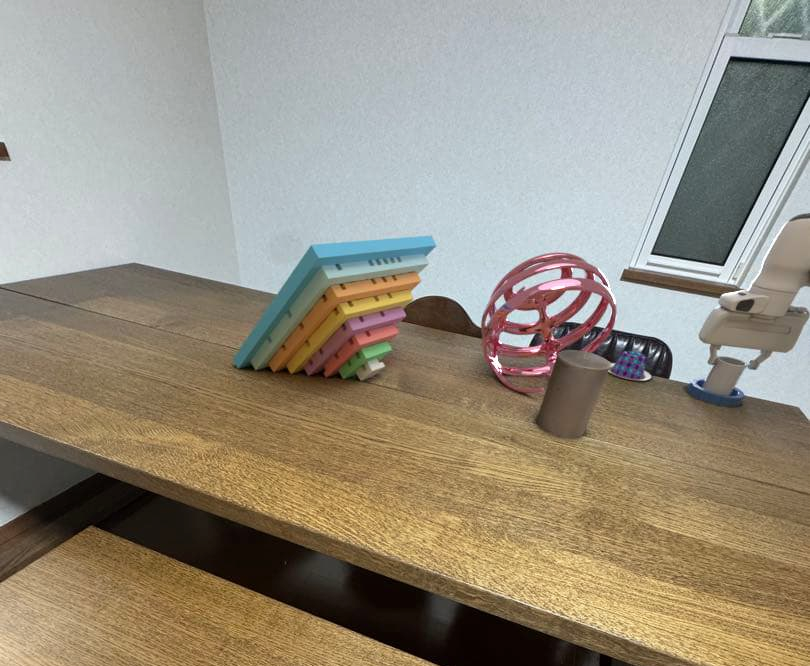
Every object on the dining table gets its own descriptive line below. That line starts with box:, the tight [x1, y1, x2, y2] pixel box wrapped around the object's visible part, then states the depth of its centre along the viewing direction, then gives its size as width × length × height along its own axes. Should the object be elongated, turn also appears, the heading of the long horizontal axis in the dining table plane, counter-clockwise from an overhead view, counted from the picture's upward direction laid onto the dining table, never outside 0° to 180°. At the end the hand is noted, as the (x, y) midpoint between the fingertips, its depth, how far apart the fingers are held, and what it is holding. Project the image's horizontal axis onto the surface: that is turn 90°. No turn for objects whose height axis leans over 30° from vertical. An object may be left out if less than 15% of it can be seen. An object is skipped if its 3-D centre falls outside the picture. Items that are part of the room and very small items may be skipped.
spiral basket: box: [480, 251, 618, 394], centre depth 98 cm, size 28×28×27 cm
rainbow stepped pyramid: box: [232, 235, 437, 382], centre depth 97 cm, size 35×18×35 cm
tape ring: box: [686, 377, 745, 408], centre depth 112 cm, size 12×12×2 cm
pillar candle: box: [535, 349, 612, 439], centre depth 85 cm, size 10×10×15 cm
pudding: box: [608, 350, 652, 382], centre depth 118 cm, size 12×12×5 cm
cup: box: [701, 355, 748, 396], centre depth 110 cm, size 6×6×9 cm
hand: (731, 366), depth 107 cm, fingers open, 8 cm apart
